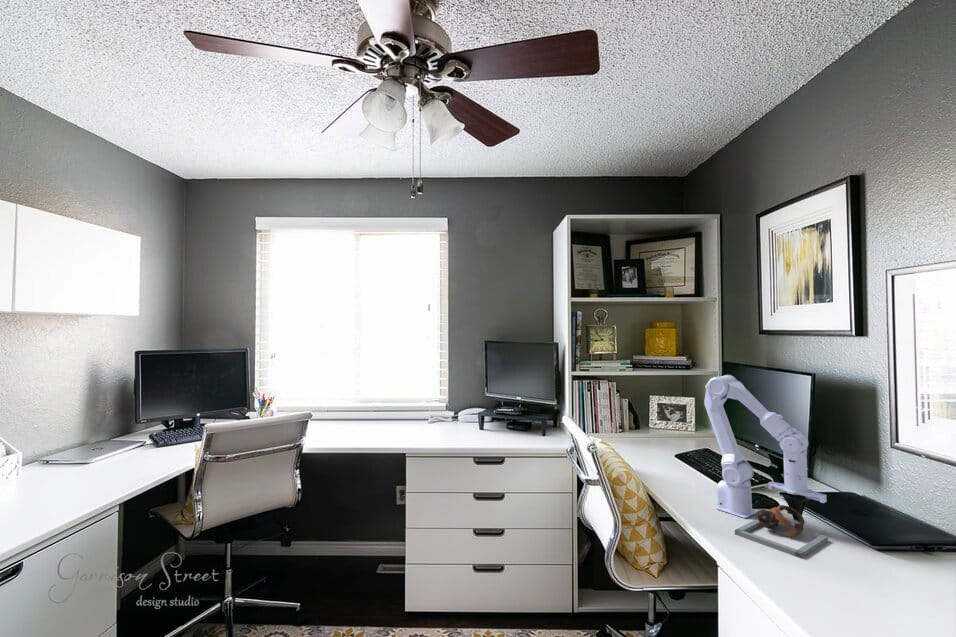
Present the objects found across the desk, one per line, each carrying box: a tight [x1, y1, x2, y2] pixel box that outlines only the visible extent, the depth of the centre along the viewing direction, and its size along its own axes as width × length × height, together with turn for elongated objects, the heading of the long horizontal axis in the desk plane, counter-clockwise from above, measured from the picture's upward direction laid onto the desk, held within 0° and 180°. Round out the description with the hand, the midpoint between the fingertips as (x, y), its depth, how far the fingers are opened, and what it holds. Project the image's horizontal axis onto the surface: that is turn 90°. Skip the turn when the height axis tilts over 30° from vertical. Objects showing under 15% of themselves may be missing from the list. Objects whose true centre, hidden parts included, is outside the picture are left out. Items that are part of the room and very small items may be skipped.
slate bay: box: [734, 516, 829, 559], centre depth 129 cm, size 17×16×1 cm
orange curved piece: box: [755, 504, 805, 539], centre depth 133 cm, size 12×10×8 cm
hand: (797, 519), depth 135 cm, fingers closed
